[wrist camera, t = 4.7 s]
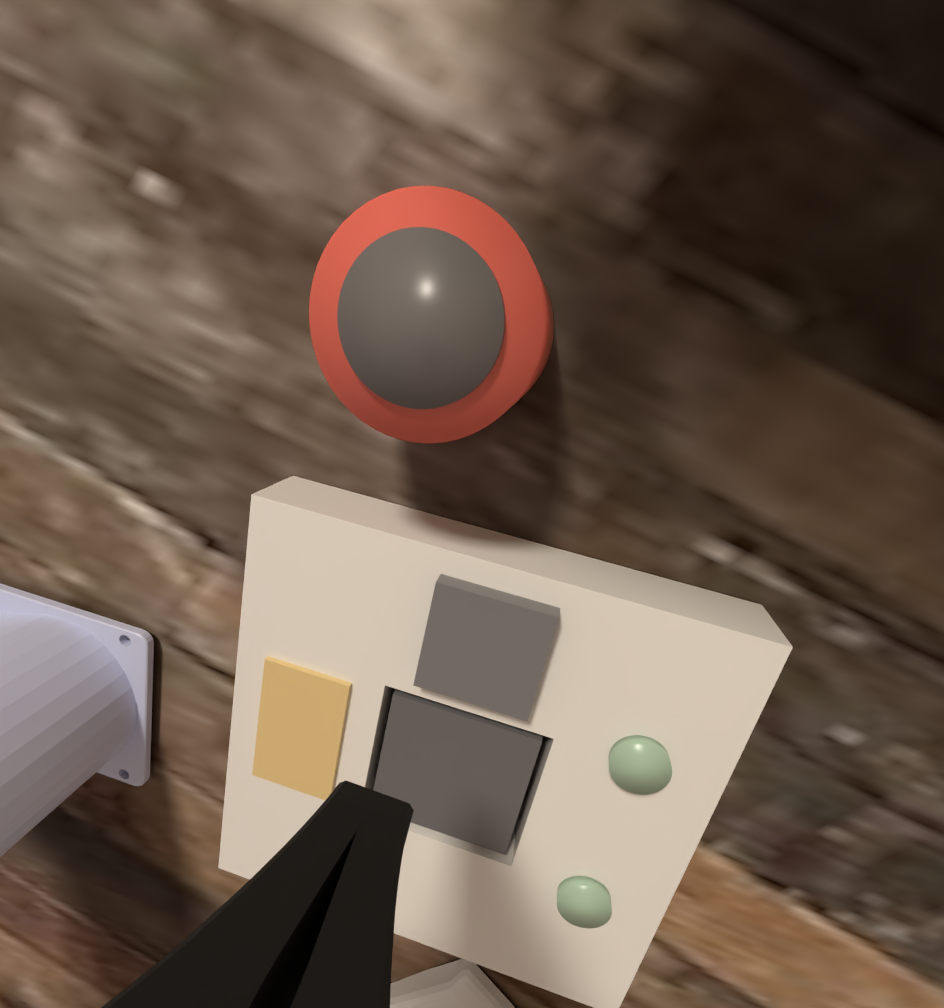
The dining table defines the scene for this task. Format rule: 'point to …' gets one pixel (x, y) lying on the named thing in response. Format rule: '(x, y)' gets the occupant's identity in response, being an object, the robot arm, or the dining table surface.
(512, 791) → the button
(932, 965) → the dining table surface
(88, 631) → the robot arm
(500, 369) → the cap
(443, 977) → the light switch
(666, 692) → the panel
